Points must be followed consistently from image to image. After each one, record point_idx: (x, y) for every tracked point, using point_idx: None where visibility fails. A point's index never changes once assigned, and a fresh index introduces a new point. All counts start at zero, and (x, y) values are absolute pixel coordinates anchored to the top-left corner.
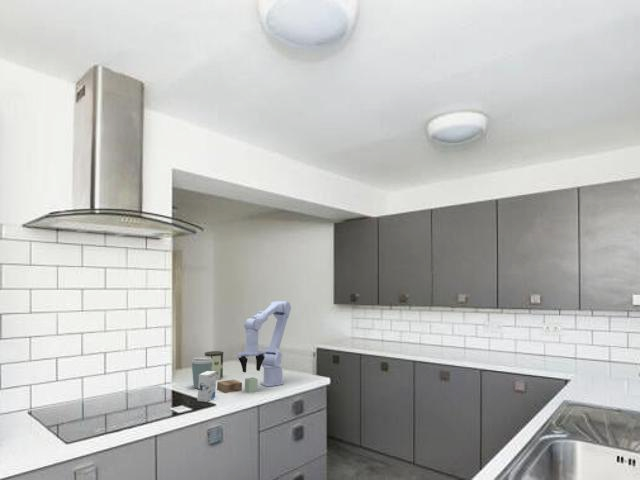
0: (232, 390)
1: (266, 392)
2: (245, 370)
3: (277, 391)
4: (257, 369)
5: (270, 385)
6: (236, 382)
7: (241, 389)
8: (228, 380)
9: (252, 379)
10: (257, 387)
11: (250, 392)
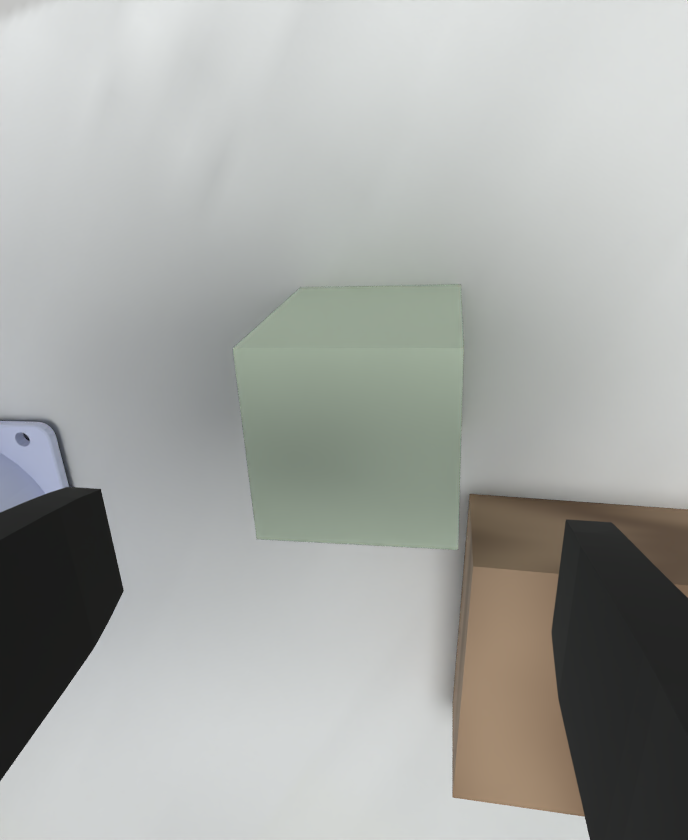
0: (645, 518)
1: (196, 127)
2: (614, 549)
3: (2, 72)
4: (96, 565)
5: (5, 428)
6: (542, 636)
7: (478, 501)
8: (560, 803)
9: (363, 376)
10: (285, 301)
11: (438, 285)
